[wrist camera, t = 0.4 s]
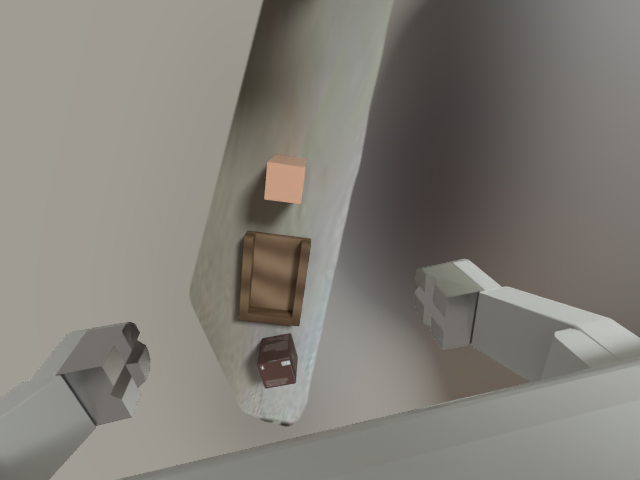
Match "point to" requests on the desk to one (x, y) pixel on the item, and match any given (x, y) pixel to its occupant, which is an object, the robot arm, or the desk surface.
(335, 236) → the desk surface
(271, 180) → the block
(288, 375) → the box
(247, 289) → the cradle
